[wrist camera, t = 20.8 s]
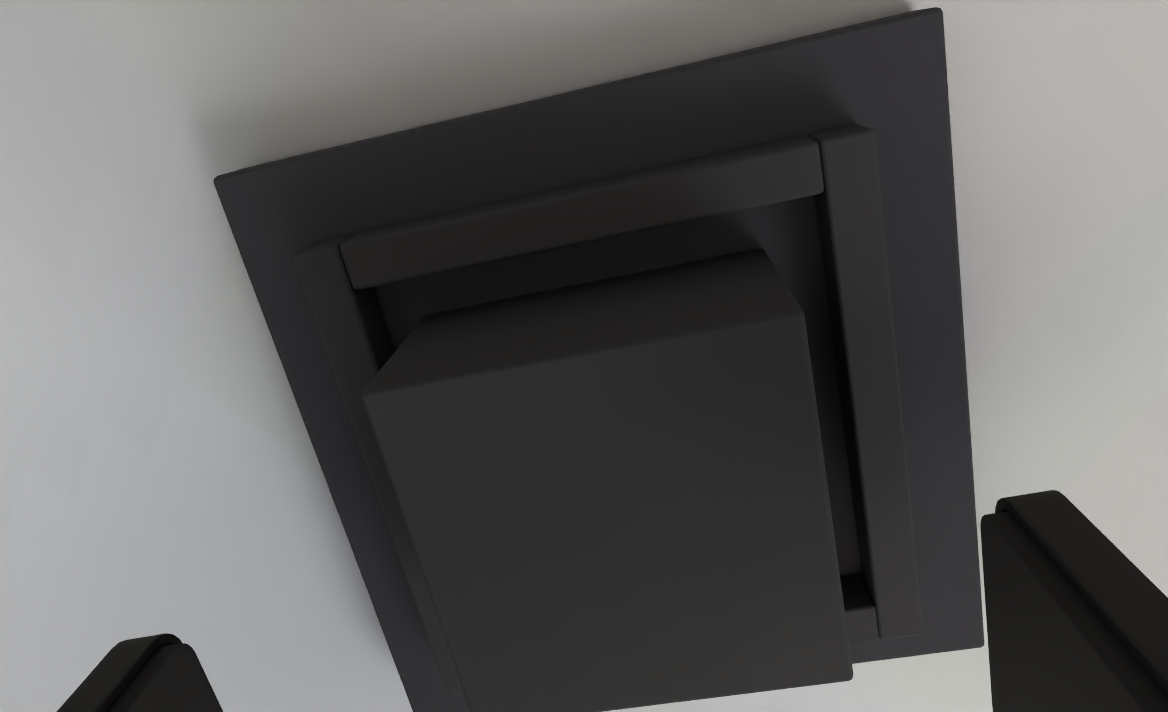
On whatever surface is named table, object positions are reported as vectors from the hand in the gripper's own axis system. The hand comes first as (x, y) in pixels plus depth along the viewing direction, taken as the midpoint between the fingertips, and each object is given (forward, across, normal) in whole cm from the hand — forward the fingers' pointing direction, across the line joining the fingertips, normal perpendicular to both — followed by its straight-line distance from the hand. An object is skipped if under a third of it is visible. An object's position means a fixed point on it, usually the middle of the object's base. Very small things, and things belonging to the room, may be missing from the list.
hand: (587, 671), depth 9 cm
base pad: (+7, -1, 0) cm, 7 cm away
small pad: (+6, 0, 0) cm, 6 cm away
